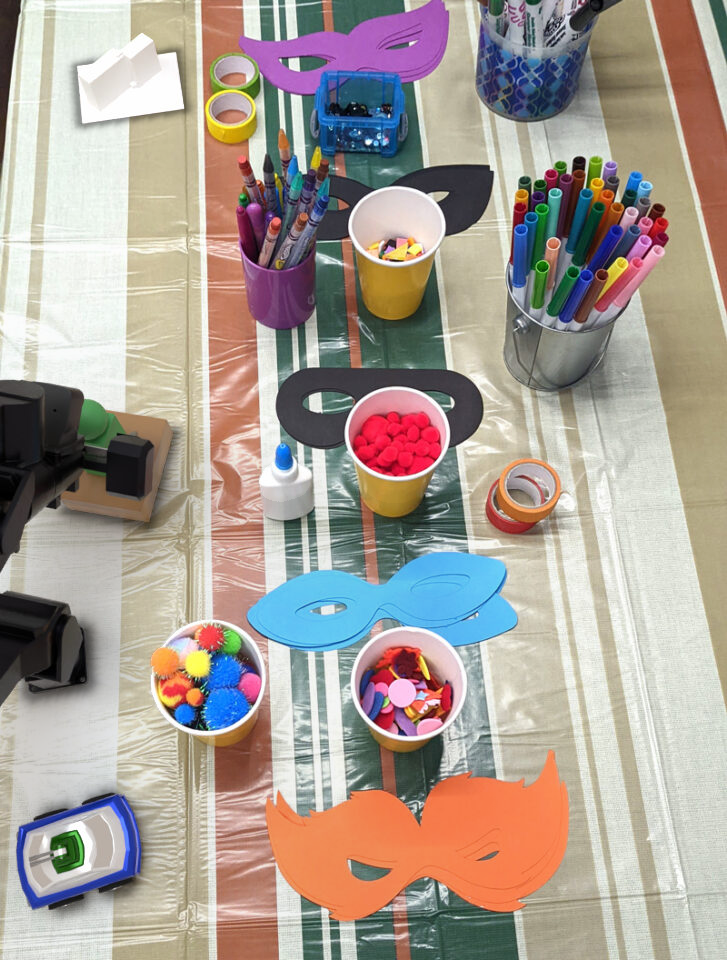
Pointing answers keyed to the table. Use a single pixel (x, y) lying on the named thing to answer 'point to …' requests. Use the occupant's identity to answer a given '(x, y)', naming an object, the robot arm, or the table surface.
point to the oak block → (94, 486)
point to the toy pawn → (98, 427)
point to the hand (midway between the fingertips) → (96, 427)
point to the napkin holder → (130, 83)
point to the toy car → (78, 851)
